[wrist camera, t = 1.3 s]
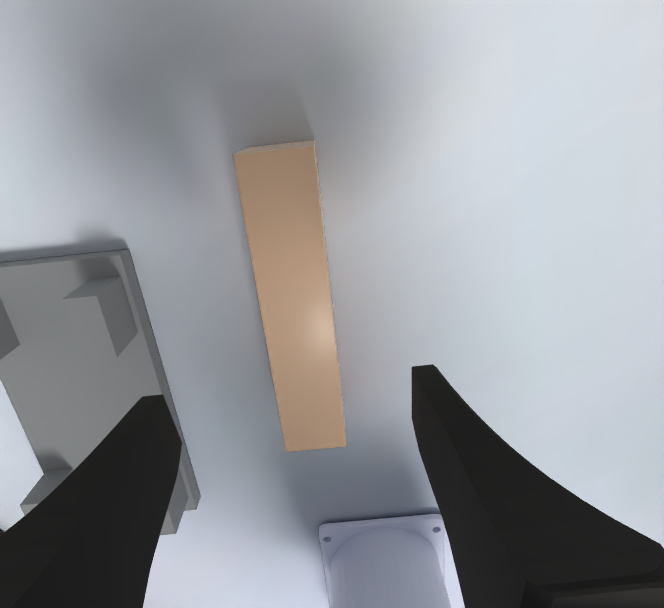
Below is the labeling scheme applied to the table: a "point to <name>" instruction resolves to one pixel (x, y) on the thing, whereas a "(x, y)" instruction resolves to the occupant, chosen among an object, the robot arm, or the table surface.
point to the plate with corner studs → (80, 362)
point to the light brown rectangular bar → (294, 289)
